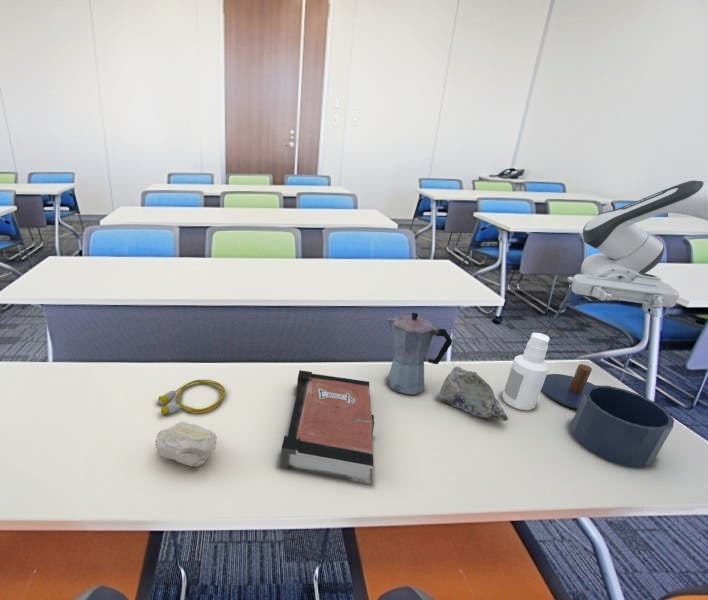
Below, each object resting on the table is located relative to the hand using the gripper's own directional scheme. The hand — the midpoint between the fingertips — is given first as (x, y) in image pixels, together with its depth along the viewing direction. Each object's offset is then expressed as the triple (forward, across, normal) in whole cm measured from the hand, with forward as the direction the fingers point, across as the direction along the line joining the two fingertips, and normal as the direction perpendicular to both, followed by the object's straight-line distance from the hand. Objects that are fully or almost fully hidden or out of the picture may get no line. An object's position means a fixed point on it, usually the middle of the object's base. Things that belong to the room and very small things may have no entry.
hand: (631, 301), depth 94 cm
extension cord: (+51, -91, +23) cm, 107 cm away
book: (+47, -58, +23) cm, 78 cm away
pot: (+25, -4, +23) cm, 34 cm away
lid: (+9, -7, +23) cm, 25 cm away
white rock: (+67, -82, +23) cm, 108 cm away
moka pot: (+23, -45, +23) cm, 55 cm away
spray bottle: (+18, -20, +23) cm, 35 cm away
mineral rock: (+27, -31, +23) cm, 47 cm away
